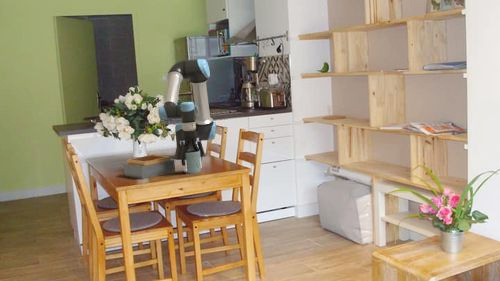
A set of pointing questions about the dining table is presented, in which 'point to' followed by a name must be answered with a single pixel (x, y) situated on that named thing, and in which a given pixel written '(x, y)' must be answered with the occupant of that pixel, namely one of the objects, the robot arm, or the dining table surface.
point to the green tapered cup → (193, 162)
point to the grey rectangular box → (149, 166)
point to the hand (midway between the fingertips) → (192, 169)
